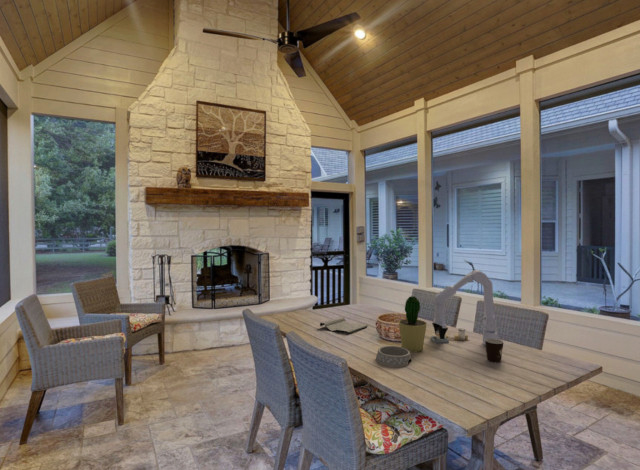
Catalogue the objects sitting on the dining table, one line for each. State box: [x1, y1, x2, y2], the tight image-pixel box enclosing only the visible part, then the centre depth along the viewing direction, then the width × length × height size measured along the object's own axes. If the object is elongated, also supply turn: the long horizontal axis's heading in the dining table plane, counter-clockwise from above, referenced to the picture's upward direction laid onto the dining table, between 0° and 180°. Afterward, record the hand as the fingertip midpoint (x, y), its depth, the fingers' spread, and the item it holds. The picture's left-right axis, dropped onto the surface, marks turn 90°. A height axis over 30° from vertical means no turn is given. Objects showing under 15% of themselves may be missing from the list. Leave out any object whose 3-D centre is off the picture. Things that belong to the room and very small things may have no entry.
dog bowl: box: [375, 345, 413, 368], centre depth 194 cm, size 17×18×5 cm
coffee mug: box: [485, 339, 505, 363], centre depth 194 cm, size 12×9×10 cm
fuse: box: [457, 327, 466, 340], centre depth 227 cm, size 4×4×6 cm
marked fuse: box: [435, 330, 444, 340], centre depth 224 cm, size 4×4×6 cm
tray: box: [430, 335, 450, 344], centre depth 224 cm, size 8×8×2 cm
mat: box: [319, 316, 369, 334], centre depth 254 cm, size 23×24×5 cm
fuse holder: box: [445, 334, 471, 342], centre depth 227 cm, size 7×14×3 cm, turn 93°
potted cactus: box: [398, 296, 428, 353], centre depth 212 cm, size 15×15×30 cm
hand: (439, 337), depth 224 cm, fingers open, 7 cm apart
